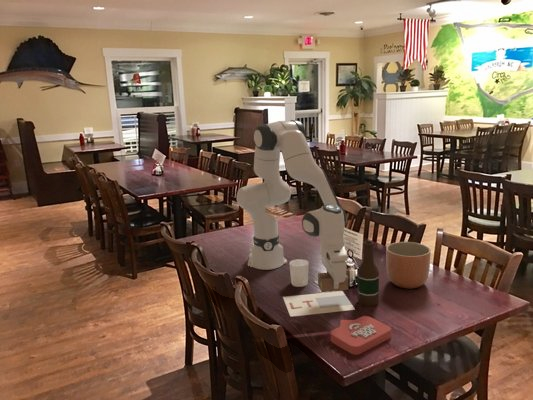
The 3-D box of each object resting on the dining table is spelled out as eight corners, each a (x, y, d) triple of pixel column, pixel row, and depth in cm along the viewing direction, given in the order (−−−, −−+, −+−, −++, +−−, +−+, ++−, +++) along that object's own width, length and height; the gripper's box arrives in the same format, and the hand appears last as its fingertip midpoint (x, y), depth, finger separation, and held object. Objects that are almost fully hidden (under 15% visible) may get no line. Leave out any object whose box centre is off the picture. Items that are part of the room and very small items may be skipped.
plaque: (359, 310, 159) (394, 327, 147) (359, 320, 160) (393, 337, 148) (321, 327, 149) (355, 346, 137) (321, 337, 150) (355, 357, 138)
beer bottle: (353, 300, 173) (353, 240, 168) (370, 295, 176) (370, 237, 171) (365, 308, 166) (365, 247, 161) (382, 304, 169) (383, 243, 164)
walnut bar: (318, 285, 172) (317, 273, 171) (343, 283, 174) (343, 270, 172) (322, 292, 167) (321, 279, 165) (348, 289, 168) (348, 277, 167)
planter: (384, 274, 195) (385, 241, 192) (426, 276, 192) (427, 242, 188) (386, 291, 179) (387, 255, 175) (431, 293, 176) (433, 257, 172)
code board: (282, 298, 177) (282, 296, 177) (342, 292, 180) (342, 290, 180) (290, 318, 162) (290, 316, 162) (355, 311, 165) (355, 309, 165)
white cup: (286, 285, 189) (285, 263, 186) (298, 279, 194) (297, 257, 192) (301, 290, 184) (300, 267, 181) (312, 284, 189) (312, 261, 187)
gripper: (317, 240, 176) (318, 273, 179) (331, 259, 156) (332, 296, 160) (333, 239, 177) (333, 272, 180) (349, 257, 157) (349, 294, 160)
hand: (332, 283), depth 170 cm, fingers closed on walnut bar, 6 cm apart
